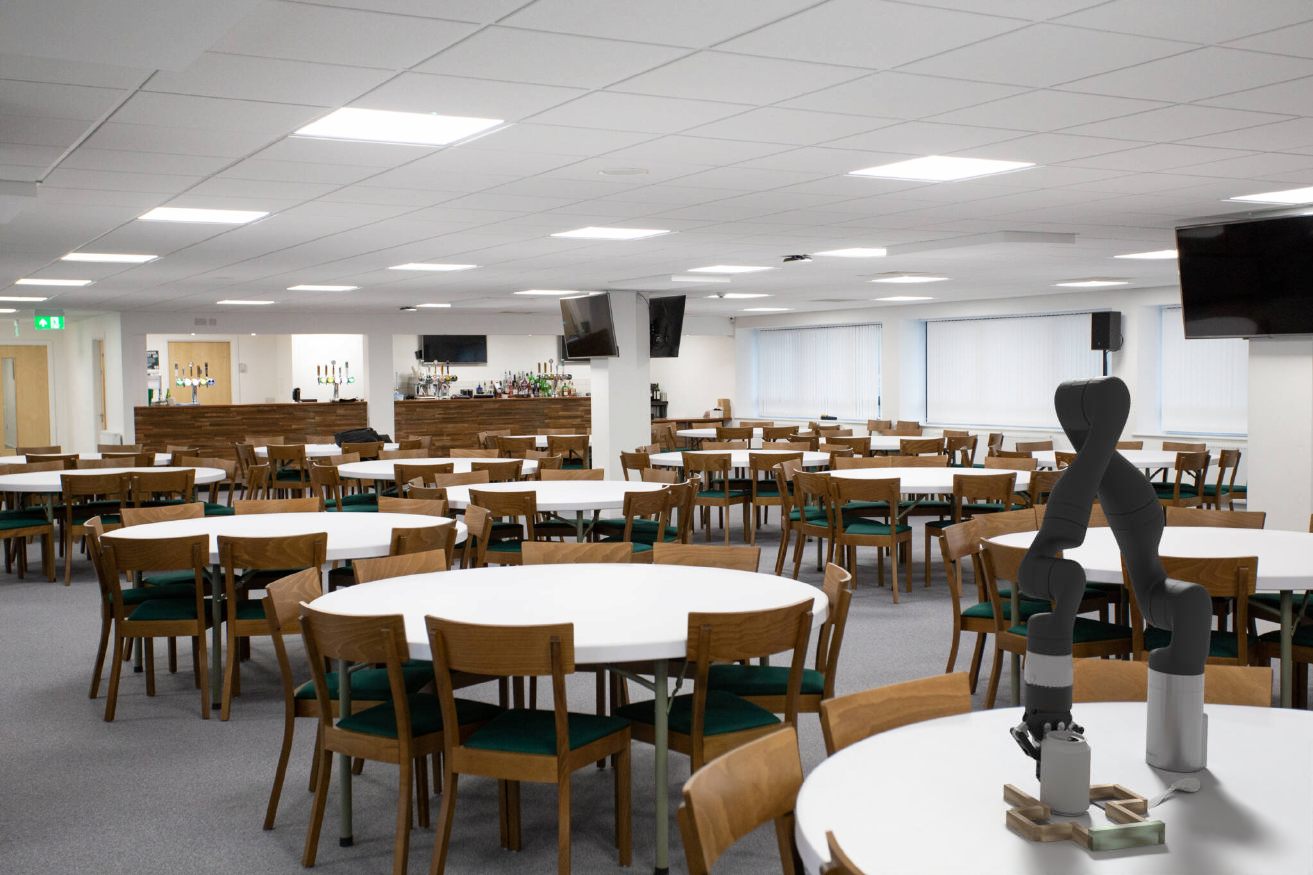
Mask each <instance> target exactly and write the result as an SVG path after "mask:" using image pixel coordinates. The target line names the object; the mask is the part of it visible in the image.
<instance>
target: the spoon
mask: <svg viewBox="0 0 1313 875" xmlns="http://www.w3.org/2000/svg"><path fill="white" fill-rule="evenodd" d="M1200 788H1201V782H1200V781H1199V779H1198V778H1196V777H1188V778H1187V777H1186V778H1183V779H1180V780H1177V781H1175V782H1172V783H1171V784H1170V787H1169V788H1168V789H1166V790H1165V791H1163V792H1162V793H1160V794H1159V795H1157V796H1154V797H1152V798H1151V799H1148V809H1153V808H1154V809H1155V807H1157V806H1158V805H1159V804H1160V803H1161V802H1162V801H1163V800H1164V799H1165V798H1166V797H1167V796H1168V795H1169V794H1171V793H1172V792H1174V791H1175V790H1178V791H1180V792H1185V793H1189V792H1190V793H1195V792H1197V791H1199V789H1200Z"/></svg>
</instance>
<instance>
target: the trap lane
mask: <svg viewBox="0 0 1313 875" xmlns="http://www.w3.org/2000/svg"><path fill="white" fill-rule="evenodd" d="M1003 797H1004V798H1006V799H1007V800H1009V801H1011V802H1012V803H1014V805H1015V804H1016V805H1017V806H1018V807H1011V808H1010V809H1007V810H1006V814H1005V815H1006V816H1005V820H1006V821H1005V824H1006V825H1008V826H1010V827H1011V828H1013V829H1014V830H1016V831H1018V832H1019V833H1021V835H1024V836H1025V837H1026V838H1028V839H1029V840H1031V841H1033V842H1036V841H1041V842H1042V843H1046V842H1055V841H1063V840H1064V841H1066V840H1073V841H1075V842H1077V843H1078V844H1080V845H1082V846H1083V847H1085V848H1087V849H1089V850H1090V851H1091V852H1100V851H1108V850H1117V849H1118V850H1119V849H1127V848H1134V847H1135V848H1136V847H1144V846H1152V845H1161V844H1165V843H1166V822H1164V821H1162V820H1159V819H1158V820H1151V821H1150V820H1148V819H1146V818H1144V817H1142V816H1140V815H1144V814H1145V813H1147V812H1148V810H1149V808H1148V801H1149V799H1148V798H1146V797H1144V796H1142V795H1140V794H1139V793H1136V792H1134V791H1132V790H1130V789H1129V788H1126V787H1124V786H1122V785H1121V784H1118V783H1117V784H1114V783H1113V784H1111V783H1102V784H1099V783H1098V784H1090V798H1089V803H1091V804H1092V805H1093V804H1094V806H1096V807H1098V808H1101V809H1102V810H1104V815H1105V816H1107V817H1109V818H1111V819H1112V820H1114V821H1116V822H1118V823H1120V824H1113V825H1104V826H1103V825H1102V826H1095V827H1088V828H1086V827H1084V826H1083V825H1080V824H1079V823H1077V822H1076V821H1070V822H1060V823H1050V821H1051V812H1050V807H1049V806H1047V805H1045V804H1044V803H1042V802H1040V799H1037V798H1035V797H1033V796H1032V795H1030V794H1029V793H1026V792H1025V791H1023V790H1022V789H1020V788H1018V787H1017V786H1015V785H1013V784H1012V783H1003Z"/></svg>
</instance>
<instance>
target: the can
mask: <svg viewBox="0 0 1313 875" xmlns="http://www.w3.org/2000/svg"><path fill="white" fill-rule="evenodd" d="M1087 741H1088V738H1087V737H1086V736H1085V735H1083V734H1082V735H1081V734H1079V733H1075V732H1070V731H1050V732H1048V733H1046V738H1045V739H1044V740H1043V741H1042V742H1041V776H1040V782H1039V783H1040V784H1039V785H1040V786H1039V801H1040V802H1042V803H1044V804H1045V805H1047V806H1049V807H1050V813H1052V814H1054V815H1059V816H1065V817H1078V816H1081V815H1083V814H1084V813H1085V812H1087V811H1088V810H1089V809H1090V802H1089V798H1090V785H1091V760H1092V759H1091V758H1092V757H1091V756H1092V753H1091V752H1092V747H1091V746H1090V745H1089V743H1087Z"/></svg>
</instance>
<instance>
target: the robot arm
mask: <svg viewBox="0 0 1313 875" xmlns="http://www.w3.org/2000/svg"><path fill="white" fill-rule="evenodd" d="M1130 393H1131V392H1130V390H1129V388H1128V386H1127V384H1126V382H1124V380H1123V379H1121V378H1119V376H1113V375H1101V376H1090V377H1089V376H1088V377H1081V378H1079V377H1078V378H1073V379H1067V380H1065V381H1062V382H1061V383H1060V384H1059V385H1057V388H1056V390H1055V394H1054V396H1053V398H1054V399H1053V400H1054V409H1055V414H1056V416H1057V419H1058V422H1059V424H1060V427H1061V429H1062V430H1063V432H1064V433H1065V436H1066V437H1067V439H1068V441H1069V443H1070V444H1071V446H1072V447H1073V450H1074V451H1075V453H1076V456H1075V458H1074V459H1073V460H1072V462H1071V463H1070V464H1069V465H1068V466H1067V468H1066V469H1064V471H1063V473H1061V475H1060V476H1059V477H1058V479H1057V480H1056V481H1055V484H1054V485H1053V486H1052V488H1051V491H1050V492H1049V496H1048V498H1047V502H1046V506H1045V510H1044V512H1043V518H1042V522H1041V524H1040V525H1041V526H1040V528H1039V530H1038V531H1037V533H1036V534H1035V537H1034V539H1033V540H1032V542H1031V544H1030V546H1029V547H1028V549H1027V551H1026V552H1025V553H1024V555H1023V556H1022V558H1021V561H1020V563H1019V566H1018V569H1017V573H1016V574H1017V575H1016V581H1017V585H1018V588H1019V590H1020V592H1021V593H1022V594H1023V595H1025V596H1027V597H1029V598H1033V599H1040V600H1045V601H1053V602H1055V606H1054V608H1053V609H1052V611H1051V612H1043V613H1042V612H1039V613H1035V614H1031V615H1030V616H1029V618H1028V620H1027V627H1026V628H1027V630H1026V631H1027V632H1026V652H1025V653H1026V654H1025V660H1024V673H1023V674H1024V679H1023V680H1024V682H1023V685H1024V686H1023V704H1024V712H1023V715H1022V722H1020V724H1018V725H1017V727H1015V726H1011V727H1010V729H1009V734H1010V735H1011V736H1012V738H1013V739H1014V740H1015V741H1016V743H1017V744H1018V746H1019V747H1020V748H1021V750H1022V752H1023V753H1024V754H1025V755H1026V756H1027V757H1030V758H1031V759H1032V760H1034V761H1035V766H1036V767H1035V778H1036V779H1037V780H1038V783H1040V776H1041V742H1042V741H1043V740H1044V739H1045V738H1046V733H1048V732H1050V731H1070V732H1075V733H1079V734H1081V735H1083V734H1084V732H1085V727H1083V726H1081V725H1079V724H1077V723H1076V722H1075V721H1074V720H1073V714H1072V712H1071V710H1072V709H1073V698H1074V697H1073V696H1074V694H1073V692H1074V688H1073V687H1074V660H1073V636H1074V635H1073V634H1074V627H1075V622H1076V618H1077V615H1078V612H1079V608H1080V604H1081V603H1082V599H1083V597H1084V593H1085V590H1086V586H1087V575H1086V571H1085V570H1084V567H1083V566H1082V565H1081V563H1079V562H1078V561H1077V560H1074V559H1070V558H1061V557H1056V556H1057V554H1058V553H1060V552H1061V551H1064V550H1070V549H1071V550H1072V549H1077V548H1079V547H1081V546H1082V545H1083V544H1084V542H1085V539H1086V536H1087V531H1088V526H1089V523H1090V519H1091V514H1092V511H1093V507H1094V506H1093V505H1094V502H1095V498H1096V496H1097V499H1098V502H1099V504H1100V507H1101V511H1102V512H1103V515H1104V517H1105V519H1106V521H1107V523H1108V526H1109V527H1110V531H1111V532H1112V534H1113V536H1114V539H1115V541H1116V544H1117V546H1118V548H1119V551H1120V552H1119V553H1120V554H1121V556H1122V559H1123V561H1124V564H1125V566H1126V570H1127V573H1128V576H1129V579H1130V582H1131V587H1132V590H1133V593H1134V596H1135V600H1136V604H1137V606H1138V609H1139V611H1140V614H1141V616H1142V617H1143V619H1144V620H1145V622H1146V623H1148V624H1149V625H1150V626H1152V627H1154V628H1158V629H1159V630H1160V629H1161V630H1165V631H1170V632H1171V637H1170V638H1171V639H1170V643H1169V645H1168V646H1166V647H1160V648H1155V649H1152V650H1151V651H1149V653H1148V658H1147V659H1148V660H1147V664H1148V665H1147V666H1148V667H1147V699H1146V733H1145V734H1146V735H1145V736H1146V738H1145V739H1146V740H1145V761H1146V762H1147V763H1148V764H1149V765H1151V766H1153V767H1156V768H1158V769H1162V770H1166V771H1172V772H1183V773H1187V772H1188V773H1189V772H1196V771H1199V770H1202V768H1206V767H1208V765H1207V764H1208V740H1209V739H1208V736H1209V735H1208V732H1209V731H1208V730H1209V715H1208V714H1207V713H1206V712H1205V711H1204V710H1205V707H1204V704H1205V701H1204V700H1205V675H1206V674H1205V671H1206V670H1205V669H1206V663H1207V660H1208V657H1209V653H1210V648H1211V647H1210V646H1211V645H1210V644H1211V636H1212V635H1211V633H1212V626H1213V625H1212V624H1213V602H1212V597H1211V594H1210V593H1209V590H1208V589H1207V588H1206V587H1205V586H1203V585H1201V584H1199V583H1195V582H1189V581H1185V580H1184V581H1183V580H1179V579H1173V578H1170V576H1169V575H1168V574H1167V572H1166V570H1165V568H1164V566H1163V563H1162V561H1161V558H1160V554H1159V547H1160V543H1161V539H1162V537H1163V533H1164V529H1165V523H1166V520H1165V519H1166V518H1165V513H1164V509H1163V507H1162V504H1161V502H1160V499H1159V497H1158V494H1157V492H1156V490H1155V488H1154V486H1153V484H1152V482H1151V481H1150V479H1149V478H1148V477H1147V475H1145V474H1144V473H1143V472H1142V471H1141V470H1140V469H1139V468H1138V467H1136V465H1135V464H1133V463H1132V462H1131V461H1130V460H1128V459H1127V458H1126V457H1125V456H1124V455H1123V454H1121V453H1120V452H1119V451H1118V450H1117V449H1116V448H1117V445H1118V443H1119V440H1120V438H1121V436H1122V434H1123V431H1124V429H1125V427H1126V424H1127V421H1128V418H1129V414H1130V410H1131V405H1132V403H1131V401H1132V400H1131V394H1130ZM1029 734H1030V735H1029ZM1030 736H1031V741H1030V739H1029V738H1030Z"/></svg>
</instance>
